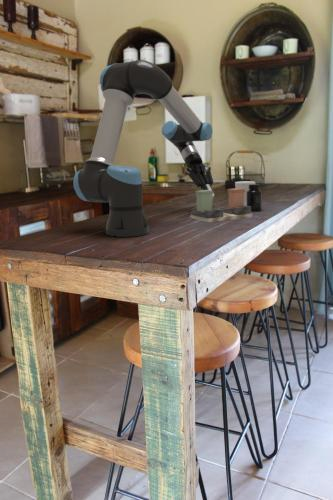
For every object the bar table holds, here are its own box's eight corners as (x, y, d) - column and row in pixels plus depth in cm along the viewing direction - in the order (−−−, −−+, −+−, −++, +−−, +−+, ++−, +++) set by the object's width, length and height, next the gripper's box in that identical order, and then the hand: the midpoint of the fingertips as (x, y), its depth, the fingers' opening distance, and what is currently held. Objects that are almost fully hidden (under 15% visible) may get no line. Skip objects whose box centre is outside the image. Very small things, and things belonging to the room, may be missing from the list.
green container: (201, 215, 176) (201, 191, 174) (195, 214, 180) (195, 190, 178) (213, 214, 179) (213, 190, 177) (207, 213, 183) (206, 189, 181)
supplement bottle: (260, 209, 202) (261, 183, 200) (262, 211, 196) (262, 184, 193) (245, 209, 203) (246, 183, 200) (247, 211, 196) (247, 185, 194)
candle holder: (231, 206, 216) (231, 182, 213) (249, 205, 219) (249, 181, 216) (240, 208, 207) (240, 183, 204) (258, 207, 210) (259, 182, 207)
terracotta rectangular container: (234, 213, 180) (234, 189, 178) (227, 212, 184) (227, 189, 182) (244, 212, 183) (245, 188, 180) (238, 211, 187) (238, 188, 184)
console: (208, 222, 170) (208, 211, 169) (190, 218, 183) (189, 207, 182) (252, 217, 180) (252, 206, 179) (232, 213, 193) (232, 203, 191)
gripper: (200, 163, 205) (221, 201, 194) (176, 164, 199) (196, 204, 188) (207, 151, 199) (228, 190, 188) (182, 152, 193) (202, 192, 183)
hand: (212, 197), depth 188 cm, fingers closed
